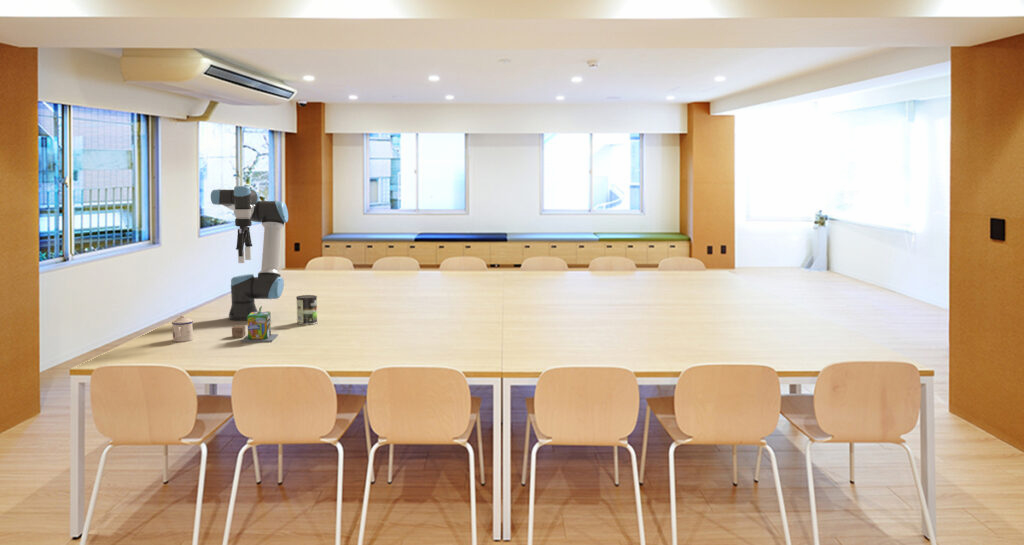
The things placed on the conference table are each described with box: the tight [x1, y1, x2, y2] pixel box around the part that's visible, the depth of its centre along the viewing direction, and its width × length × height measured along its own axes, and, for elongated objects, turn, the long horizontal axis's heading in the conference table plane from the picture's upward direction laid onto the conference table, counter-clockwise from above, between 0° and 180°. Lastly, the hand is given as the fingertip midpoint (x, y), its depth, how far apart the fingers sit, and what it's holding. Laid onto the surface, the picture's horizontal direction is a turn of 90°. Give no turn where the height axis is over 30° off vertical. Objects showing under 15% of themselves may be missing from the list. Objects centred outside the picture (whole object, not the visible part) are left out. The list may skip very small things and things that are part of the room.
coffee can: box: [296, 294, 318, 326], centre depth 409 cm, size 10×10×14 cm
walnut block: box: [231, 325, 247, 338], centre depth 375 cm, size 5×5×5 cm
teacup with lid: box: [171, 314, 194, 343], centre depth 365 cm, size 12×9×12 cm
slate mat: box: [240, 333, 279, 343], centre depth 371 cm, size 14×14×1 cm
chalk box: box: [246, 305, 272, 339], centre depth 369 cm, size 9×9×15 cm
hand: (244, 261), depth 384 cm, fingers open, 13 cm apart
